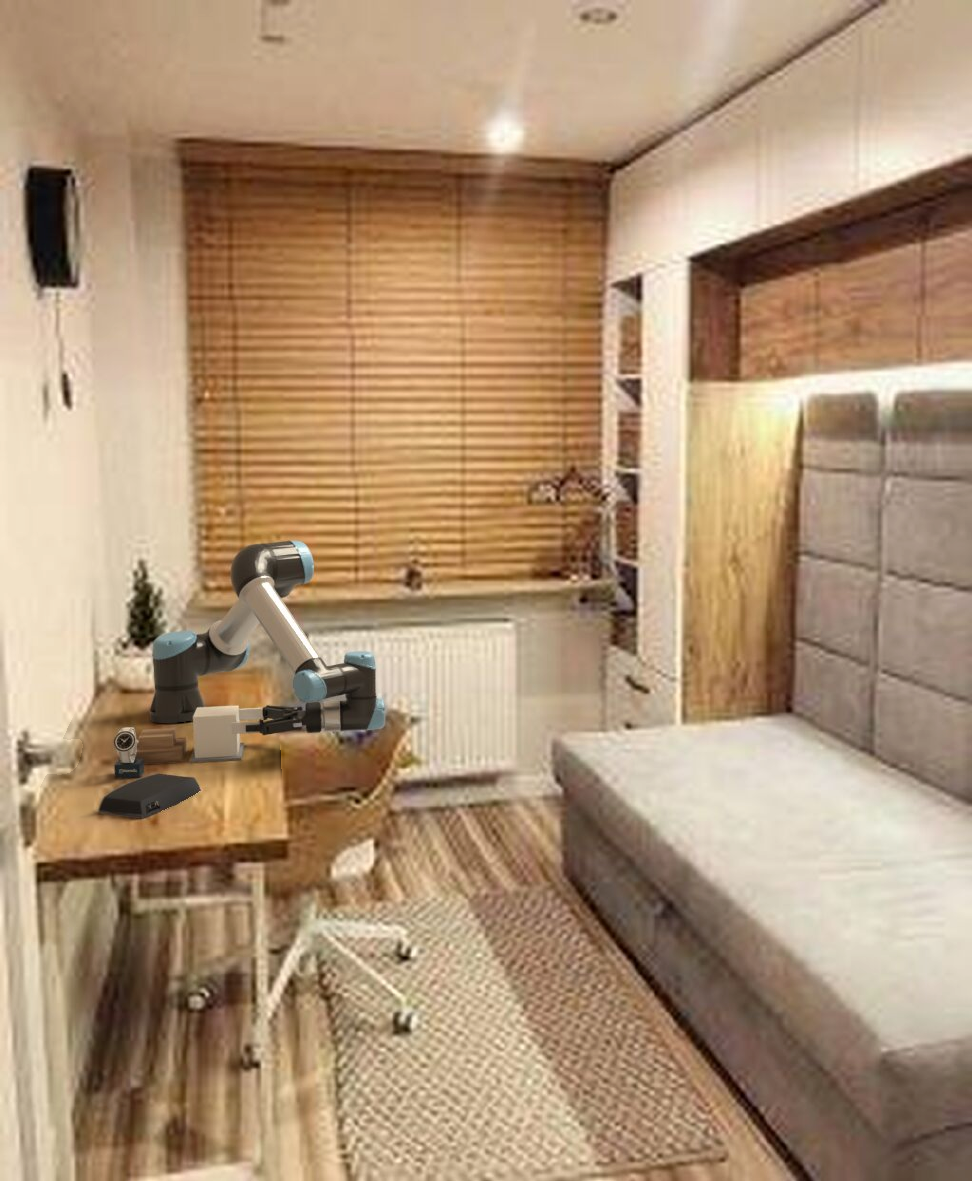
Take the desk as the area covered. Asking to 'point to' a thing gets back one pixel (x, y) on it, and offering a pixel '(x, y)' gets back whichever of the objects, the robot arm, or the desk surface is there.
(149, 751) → the brown stepped block
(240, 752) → the mat
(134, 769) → the watch
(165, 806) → the external hard drive
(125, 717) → the desk surface
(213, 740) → the off-white rounded cube
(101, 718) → the desk surface
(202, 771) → the desk surface
